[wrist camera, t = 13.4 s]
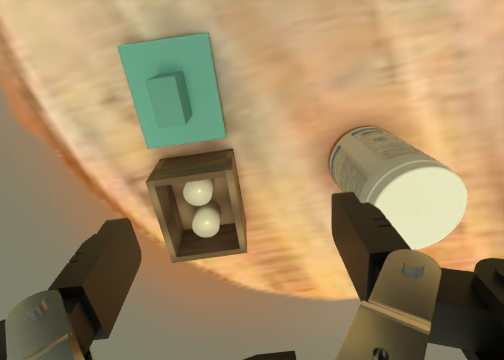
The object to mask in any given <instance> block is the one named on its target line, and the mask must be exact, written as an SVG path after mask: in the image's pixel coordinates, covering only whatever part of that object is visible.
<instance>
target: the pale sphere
mask: <svg viewBox="0 0 504 360" xmlns="http://www.w3.org/2000/svg"><path fill="white" fill-rule="evenodd" d="M220 216H221V208H220V206H219V205H218V204H217V203H216V202H215V201H212V200H210V201H209V202H208V203H207V204H205V205H202V206H197V207H196V211H195V215H194V219H193V223H192V229H193V231H194V232H195V233H196V234H197V235H198V236H201V237H212V236H214V235H215V234H216V233H217V232H218V230H219V225H220Z"/></svg>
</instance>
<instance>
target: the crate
mask: <svg viewBox="0 0 504 360" xmlns="http://www.w3.org/2000/svg"><path fill="white" fill-rule="evenodd" d="M207 179H214V186H213V192H212V197H211V199H210V200H212V201H215V202H216V203H217V204H218V205H219V206H220V208H221V216H220V225H219V230H218V232H217V233H216V234H215V235H214V236H212V237H201V236H198V235H197V234H196V233H195V232H194V231H193V229H192V223H193V219H194V215H195V211H196V207H197V206H195V205H192V204H190V203H188V202H187V201H186V199H185V198H184V195H183V190H184V187H185V184H186V182H193V181H200V180H207ZM146 184H147V188H148V191H149V194H150V197H151V200H152V203H153V206H154V209H155V212H156V215H157V218H158V221H159V224H160V228H161V231H162V234H163V237H164V240H165V243H166V246H167V249H168V252H169V255H170V258H171V261H172V263H176V262H182V261H191V260H198V259H205V258H212V257H220V256H227V255H234V254H241V253H247V236H246V220H245V214H244V209H243V203H242V197H241V192H240V186H239V180H238V175H237V169H236V163H235V158H234V152H233V149H230V150H223V151H216V152H209V153H202V154H195V155H188V156H181V157H175V158H168V159H161V160H160V161H159V162H158V164H157V165H156V167H155V168H154V170H153V171H152V173H151V174H150V176H149V178H148V179H147V181H146Z"/></svg>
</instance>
